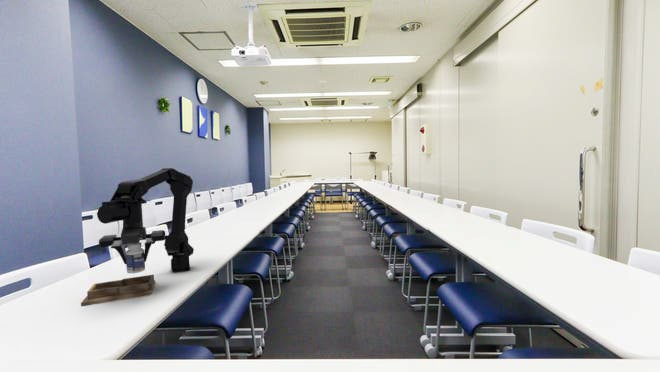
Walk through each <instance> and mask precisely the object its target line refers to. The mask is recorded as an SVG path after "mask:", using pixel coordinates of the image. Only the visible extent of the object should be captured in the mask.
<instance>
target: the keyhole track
mask: <svg viewBox="0 0 660 372" xmlns="http://www.w3.org/2000/svg"><path fill="white" fill-rule="evenodd" d="M155 285H156V279H155V274H147V275H140V276H139V275H138V276H133V277H128V278H122V279H118V280H112V281H104V282H103V281H102V282H99V283H93V285H92V286H91V287H90V288H89V289H88V290H87V292H86V294H87V295H86V296H85V297H84V299H83V300H82V301H81V302H80V306H81V307H86V306H91V305H95V304H102V303H108V302H114V301H121V300H127V299H132V298H138V297H145V296H151V295H152V294H153V291H154V289H155Z"/></svg>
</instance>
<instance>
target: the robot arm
mask: <svg viewBox="0 0 660 372" xmlns="http://www.w3.org/2000/svg"><path fill="white" fill-rule="evenodd" d="M163 183H166V184H167V185H169V190H170V192H171V194H172V196H173V202H172V216H171V229H170V232H169V234H168V235H167V234H166V231H165V230H164V229H161V230H152V232H151V233H147V229H146V226H144V218H143V204H147V202H148V201H146V200H145V199H143V197H144V196H145V195H146V194H148V193H149V190H150V189H152V188H154V187H156V186H159V185H160V184H163ZM193 184H194V181H193V178H192V177H191V176H190V175H187V174H185V173H183V172H181V171H178V170H177V169H175V168H174V167H173V168H172V167H171V168H170V167H169V168H168V167H167V168H166V167H165V168H161V169H160V170H158V171H156V172H155V171H154V172H153V173H151V174H148V175H146V176H144V177H141V178H138V179H132V180H126V181H125V180H124V181H121V182H120V183H118V185H117V187H116V190H115V192H114V193H113V195H112V196H111V199H110V201H102V202H101V205H100V206H99V208H98V210H97V212H96V215H97V219H98V221H99V222H100V223H102V224H104V225H105V224H111V223H115V222H121V221H122V229H121V231H120V232H121V233H120V236H117V234H110V235H109V234H106V235H103V236H102V237H101V238H99V239H98V247H99V248H105V247H106V248H107V247H110V249H115V250H116V251H117V253H118V254H119V255H120V257H121V259H122V261H123V263H124V265H126V251H127V250H126V245H128V244H130V243H134V244H135V243H138V242H140V241H144V242H145V243H144V262H145V263H146V262H147V260H148V255H149V253H150V248H151V246H152V245H154V244H155V243H156V242H160V241H161V242H162V241H164V244H163V246H164V249H165V251H166V253H167V257H171V259H170V270H171V271H172V273H178V272H179V273H180V272H186V271H190V270H191V265H190V256H192V255H193V254H194V250H195V248H194V247H193V246H191V245H190V243H189V237H188V234H187V233H186V230H185V227H186V214H187V205H188V203H187V201H188V196H189V195H190V193H191V192H192V189H193Z"/></svg>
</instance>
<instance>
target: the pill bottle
mask: <svg viewBox="0 0 660 372" xmlns="http://www.w3.org/2000/svg"><path fill="white" fill-rule="evenodd" d="M127 249H128V250H126V264H125V265H126V266H125V267H126V272H127V274H137V273H141V272H143V271H144V272H145V270H146V262H144V252H145V248H142V242H140V241H139V242H138V243H135V244H134V243H130V244H127Z"/></svg>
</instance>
